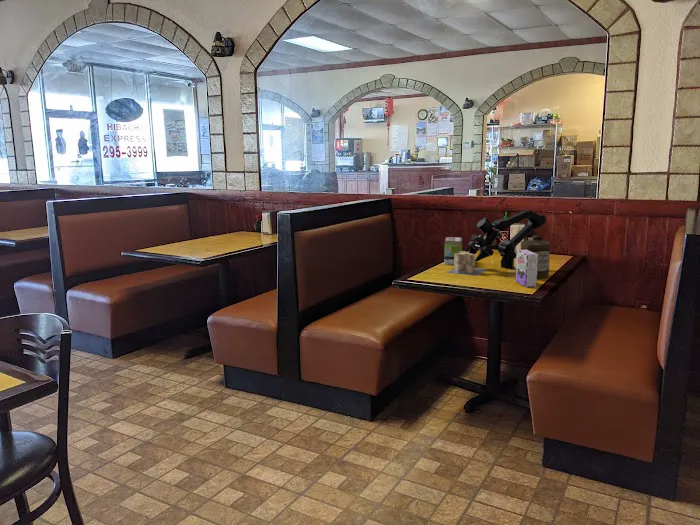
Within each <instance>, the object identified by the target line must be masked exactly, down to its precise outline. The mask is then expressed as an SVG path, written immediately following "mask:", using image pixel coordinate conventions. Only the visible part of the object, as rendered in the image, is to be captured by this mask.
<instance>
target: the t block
mask: <svg viewBox="0 0 700 525" xmlns="http://www.w3.org/2000/svg"><path fill="white" fill-rule="evenodd" d="M468 252H469V251H465V250H464V251H463V250H462V251H460V252H459V253H454V264H453V266H454V267H453V269H454V270H457V271H467V273H474V268H475V264H476V262H475V259H476V254H471V253H468Z"/></svg>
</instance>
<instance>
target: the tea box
mask: <svg viewBox="0 0 700 525" xmlns="http://www.w3.org/2000/svg"><path fill="white" fill-rule="evenodd" d="M460 251H463V237H458V236H457V237H456V236H455V237H453V236H452V237H451V236H449V237H448V236H447V237H445V239H444V259H443V260H444V263H443V264H444V265H454V253H459V252H460Z"/></svg>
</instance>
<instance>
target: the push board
mask: <svg viewBox="0 0 700 525" xmlns="http://www.w3.org/2000/svg"><path fill="white" fill-rule="evenodd" d="M486 271H488V268H481V267H478V268H477V267H474V273H467V271H457V270H454V268H450V270H449V271H447V272H446V274H455V275H466V276H475V277H477V276H479V275H481V274H482V273H484V272H486Z"/></svg>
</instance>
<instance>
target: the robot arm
mask: <svg viewBox="0 0 700 525" xmlns="http://www.w3.org/2000/svg"><path fill="white" fill-rule="evenodd" d="M526 219H528V221H527V224H525V225H524V226H523V227H522V228H521V229H520V230H519V231H518V232H517V233H516V234H515V235H514V236H513V237H511V239H509V240H508V239H504V240H503V241H501V243H499V245H498V247H497V251H498V253H499V256H500V257H501V259H500V268H502V269H507V270H513V269H514V268H515V269H516V265H515V259H516V248H517V246H518V245H519V244H521V242H522V241H524V239H525V238H526V237H528V236H529V235H530V233H532V232H533V231H534V230H536V229H538V228H541V227H542V226H544V225H545V224H546V222H547V218H546V216H545V215H544V214H538V213H536V212H534V211H532V210H529V209H524V210H523V211H520V212H517V213H515V214H513V215H511V216H509V217H505V218H499V219H495V220H494V221H493V222H491V221H489V219H488V217H484V218H482V219H481V220H479V221H478V222H477V223H476V228H478V229H479V230H480V231H481V232H482V233H483V234H485V235H482V234H479V235H477V234H474V233H473V234H471V238H470V241H469V242H468V243H467V245H468V251H467V252H468V253H471V254H474V255H476V254H477V253H478V252H479V253H478V254H477V256H475V263H477V262H480V261H481V260H484V259H486V258H489V257H491V256H493V255H494V254H495V253H494V250H493V249H492V248H491V246H493V244H494V243H493V242H494V241H495V240H496V239H497V238H499V239H502V233H501V232H505V231H506V230H508V229H509V228H510V227H511V226H513V225H514V224H516V223H518V222H519V223H520V222H521V221H524V220H526Z"/></svg>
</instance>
